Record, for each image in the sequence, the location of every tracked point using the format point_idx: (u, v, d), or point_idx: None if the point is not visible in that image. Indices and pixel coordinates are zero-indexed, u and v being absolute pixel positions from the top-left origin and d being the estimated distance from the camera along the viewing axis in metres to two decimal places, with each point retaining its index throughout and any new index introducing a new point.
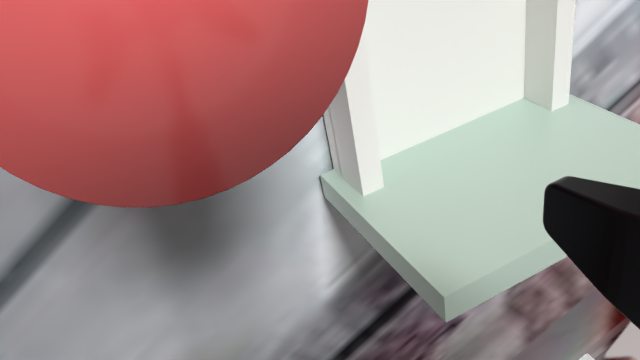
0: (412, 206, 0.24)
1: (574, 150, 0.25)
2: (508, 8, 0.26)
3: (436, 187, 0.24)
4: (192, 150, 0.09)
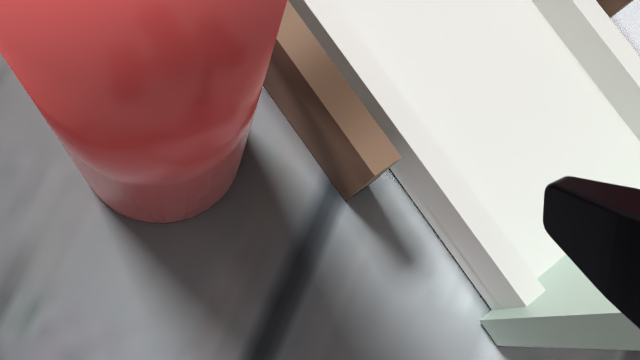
0: (580, 283, 0.20)
1: None
2: (581, 95, 0.26)
3: None
4: (182, 28, 0.10)
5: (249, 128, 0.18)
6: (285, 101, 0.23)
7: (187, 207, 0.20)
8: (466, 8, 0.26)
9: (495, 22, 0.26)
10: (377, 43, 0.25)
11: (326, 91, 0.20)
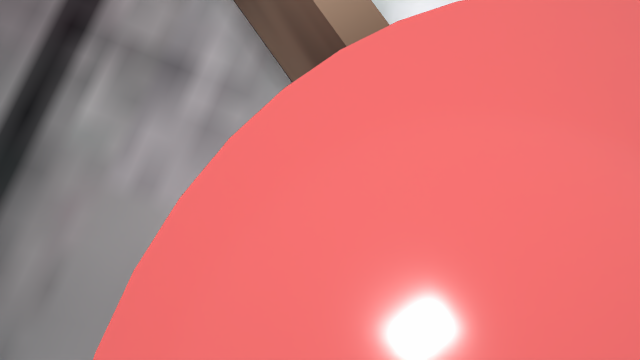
0: None
1: None
2: None
3: None
4: None
5: None
6: None
7: None
8: None
9: None
10: None
11: None
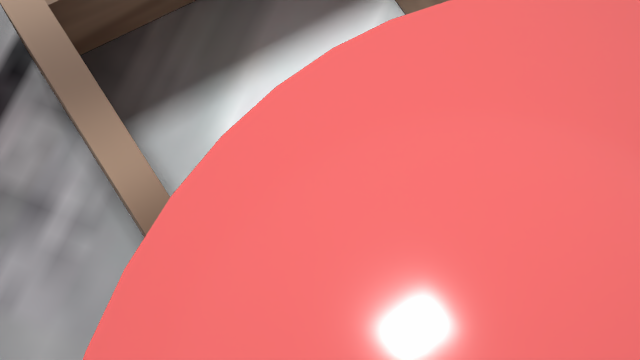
0: None
1: None
2: None
3: None
4: None
5: None
6: None
7: None
8: None
9: None
10: None
11: None
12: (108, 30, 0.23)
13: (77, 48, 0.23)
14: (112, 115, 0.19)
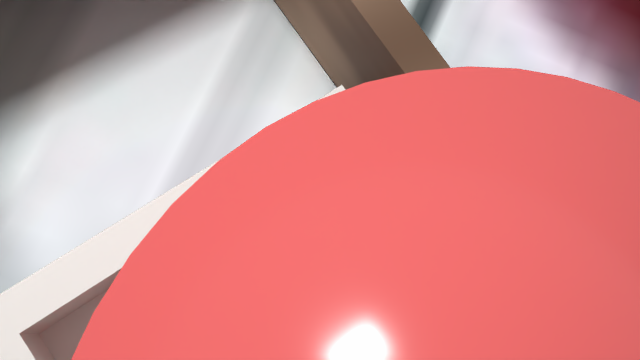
0: None
1: None
2: None
3: None
4: None
5: None
6: None
7: None
8: None
9: None
10: None
11: None
12: None
13: None
14: None
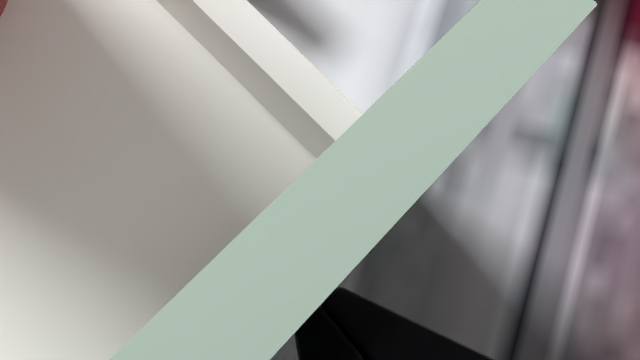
0: None
1: None
2: (178, 72, 0.16)
3: None
4: None
5: None
6: None
7: None
8: None
9: None
10: None
11: None
12: None
13: None
14: None
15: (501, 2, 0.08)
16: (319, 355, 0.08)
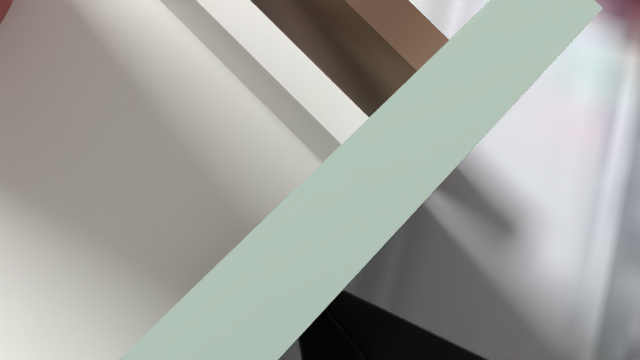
0: None
1: None
2: (182, 73, 0.16)
3: None
4: None
5: None
6: None
7: None
8: None
9: None
10: None
11: None
12: None
13: None
14: None
15: (507, 6, 0.08)
16: (322, 354, 0.08)
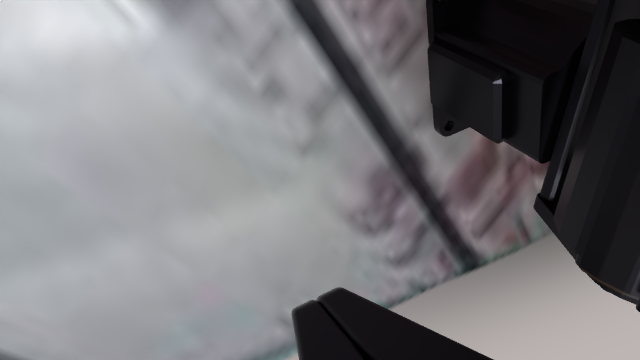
0: None
1: None
2: None
3: None
4: None
5: None
6: None
7: None
8: None
9: None
10: None
11: None
12: None
13: None
14: None
15: None
16: (320, 355, 0.08)
